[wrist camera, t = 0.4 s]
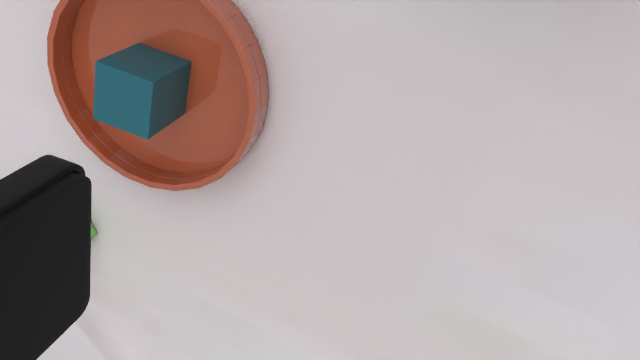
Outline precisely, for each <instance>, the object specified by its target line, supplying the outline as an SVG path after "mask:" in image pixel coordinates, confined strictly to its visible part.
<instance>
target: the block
mask: <svg viewBox="0 0 640 360" xmlns="http://www.w3.org/2000/svg"><path fill="white" fill-rule="evenodd" d="M190 70H191V61H189V60H186V59H183V58H181V57H178V56H175V55H172V54H169V53H166V52H164V51H161V50H158V49H155V48H152V47H150V46H147V45H144V44H141V43H137V44H135V45H132V46H130V47H128V48H125V49H123V50H121V51H118V52H116V53H114V54H111V55H109V56H106V57H104V58H102V59H99V60H97V61H95V80H94V106H93V119H94V120H97V121H100V122H102V123H105V124H108V125H110V126H113V127H115V128H118V129H121V130H123V131H126V132H129V133H131V134H134V135H136V136H139V137H142V138H144V139H147V140H148V139H150V138H151V137H153V136H154V135H156V134H157V133H158V132H160V131H161V130H163V129H164V128H166V127H167V126H168V125H170V124H171V123H173V122H174V121H175V120H177V119H178V118H180V117H181V116H183V115H184V114H185V108H186V101H187V93H188V85H189V78H190Z"/></svg>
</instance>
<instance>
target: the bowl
mask: <svg viewBox="0 0 640 360" xmlns="http://www.w3.org/2000/svg"><path fill="white" fill-rule="evenodd" d="M137 43H141V44H144V45H147V46H150V47H152V48H155V49H158V50H161V51H164V52H166V53H169V54H172V55H175V56H178V57H181V58H183V59H186V60H189V61H191V70H190V78H189V85H188V93H187V101H186V108H185V114H184V115H183V116H181V117H180V118H178V119H177V120H175V121H174V122H173V123H171V124H170V125H168V126H167V127H166V128H164V129H163V130H161V131H160V132H158V133H157V134H156V135H154V136H153V137H151V138H150V139H148V140H147V139H144V138H142V137H139V136H136V135H134V134H131V133H129V132H126V131H123V130H121V129H118V128H115V127H113V126H110V125H108V124H105V123H102V122H100V121H97V120H94V119H93V106H94V80H95V61H97V60H99V59H102V58H104V57H106V56H109V55H111V54H114V53H116V52H118V51H121V50H123V49H125V48H128V47H130V46H132V45H135V44H137ZM47 56H48V68H49V72H50V76H51V81H52V85H53V89H54V92H55V95H56V97H57V100H58V102H59V104H60V106H61V108H62V110H63V113H64V115H65V117H66V119H67V121H68V122H69V123H70V125H71V126H72V128H73V129H74V130H75V132H76V133H77V135H78V136H79V138H80V139H81V140H82V142H84V144H85V145H86V146H87V147H88V148H89V149H90V150H91V151H92V152H93V153H94V154H95V155H96V156H97V157H98V158H99V159H100V160H101V161H103V162H104V163H105V164H106V165H108V166H110V167H111V168H113V169H114V170H116V171H117V172H119V173H120V174H122V175H123V176H125V177H127V178H129V179H131V180H134V181H136V182H139V183H141V184H144V185H146V186H149V187H152V188H159V189H166V190H173V191H179V190H187V189H195V188H201V187H203V186H205V185H207V184H209V183H211V182H214V181H216V180H218V179H220V178H222V177H223V176H224V175H225V174H226V173H227V172H228V171H229V170H230V169H231V168H232V167H233V166H235V165H236V164H237V163H238V162H239V161H240V160H241V159H242V158H243V157H244V156H245V155H246V154H247V153H248V152H249V150H250V148H251V147H252V145H253V144H254V142H255V141H256V139H257V138H258V136H259V133H260V131H261V129H262V127H263V124H264V120H265V117H266V113H267V106H268V78H267V70H266V66H265V62H264V58H263V54H262V52H261V49H260V46H259V44H258V41H257V39H256V37H255V35H254V33H253V31H252V29H251V27H250V25H249V24H248V22H247V21H246V19H245V18H244V16H243V15H242V13H241V12H240V11H239V9H238V8H237V7H236V6H235V5H234V3H233V2H232V1H231V0H60V2H59V3H58V5H57V7H56V8H55V10H54V13H53V17H52V20H51V24H50V28H49V32H48V37H47Z"/></svg>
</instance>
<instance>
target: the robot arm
mask: <svg viewBox="0 0 640 360" xmlns="http://www.w3.org/2000/svg"><path fill="white" fill-rule="evenodd" d="M90 252H91V181H90V179H89V178H88V177H86V176H85V171H84V169H83V167H81V166H80V165H78V164H75V163H72V162H69V161H66V160H64V159H61V158H58V157H55V156H52V155H45V156H43V157H40V158H39V159H37V160H35V161H33V162H31V163H30V164H28V165H26V166H24V167H22V168H21V169H19V170H17V171H15V172H13V173H12V174H10V175H8V176H6V177H4V178H3V179H1V180H0V360H36V359H37V358H38V357H39V356H40V355H41V354H42V353H43V352H44V351H45V350H46V349H47V348H49V346H51V345H52V344H53V343H54V342H55V341H56V340H57V339H58V338H59V337H60V336H61V335H62V334H63V333H64V332H65V331H66V330H67V329H68V328H69V327H70V326H71V325H72V324H73V323H74V322H75V321H76V320H77V319H78V318H79V317H80V316H81V315H82V314H83V312H84V310H85V309H86V307H87V305H88V302H89V298H90Z"/></svg>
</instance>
